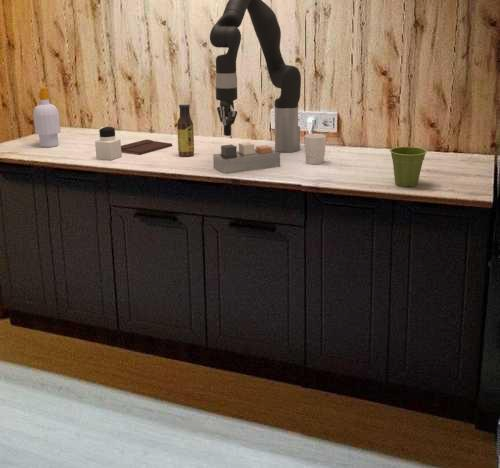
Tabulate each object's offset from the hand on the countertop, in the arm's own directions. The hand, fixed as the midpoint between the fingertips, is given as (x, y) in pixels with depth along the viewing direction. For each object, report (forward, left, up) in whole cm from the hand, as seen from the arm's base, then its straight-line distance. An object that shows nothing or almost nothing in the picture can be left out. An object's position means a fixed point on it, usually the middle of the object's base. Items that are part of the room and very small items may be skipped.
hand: (227, 135), depth 259 cm
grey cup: (-32, +6, -13) cm, 35 cm away
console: (-7, 0, -12) cm, 14 cm away
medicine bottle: (+33, -41, -13) cm, 54 cm away
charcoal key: (0, 0, -7) cm, 7 cm away
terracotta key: (-14, 0, -9) cm, 17 cm away
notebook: (+16, -51, -13) cm, 55 cm away
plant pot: (-42, +48, -13) cm, 65 cm away
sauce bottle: (+5, -30, -13) cm, 33 cm away
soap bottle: (+49, -77, -13) cm, 92 cm away
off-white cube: (-7, 0, -7) cm, 10 cm away
